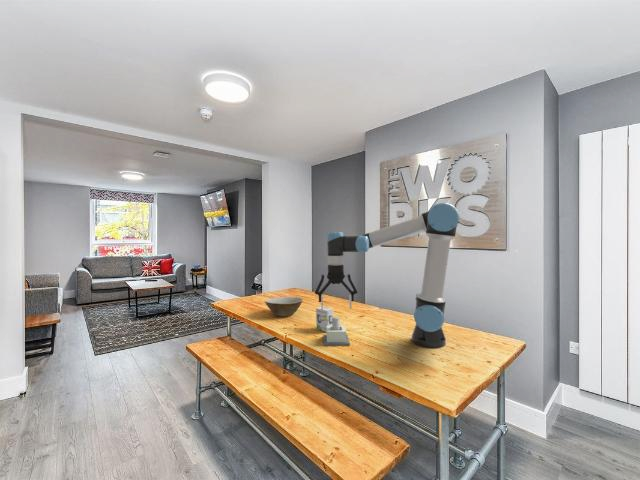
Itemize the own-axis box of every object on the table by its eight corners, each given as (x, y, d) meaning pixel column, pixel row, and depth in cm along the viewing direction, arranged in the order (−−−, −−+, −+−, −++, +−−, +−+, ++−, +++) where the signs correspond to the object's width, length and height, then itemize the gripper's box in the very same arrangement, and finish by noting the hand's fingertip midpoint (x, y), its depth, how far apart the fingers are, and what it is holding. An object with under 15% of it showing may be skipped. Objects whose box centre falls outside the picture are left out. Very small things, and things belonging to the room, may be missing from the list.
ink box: (334, 330, 160) (334, 308, 159) (327, 333, 156) (327, 310, 156) (322, 327, 166) (322, 305, 165) (315, 329, 162) (315, 307, 162)
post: (347, 336, 151) (347, 314, 151) (349, 345, 139) (349, 322, 139) (323, 336, 151) (323, 314, 150) (323, 345, 139) (323, 322, 139)
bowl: (271, 309, 204) (271, 294, 204) (306, 310, 201) (306, 295, 200) (259, 319, 181) (259, 302, 180) (298, 320, 177) (298, 304, 177)
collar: (344, 335, 149) (344, 325, 149) (346, 342, 140) (346, 331, 140) (326, 335, 149) (326, 325, 149) (327, 342, 140) (327, 331, 140)
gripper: (360, 263, 148) (361, 305, 148) (309, 263, 147) (310, 306, 148) (362, 264, 140) (363, 309, 141) (309, 265, 140) (310, 310, 140)
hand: (336, 308), depth 144 cm, fingers open, 13 cm apart
